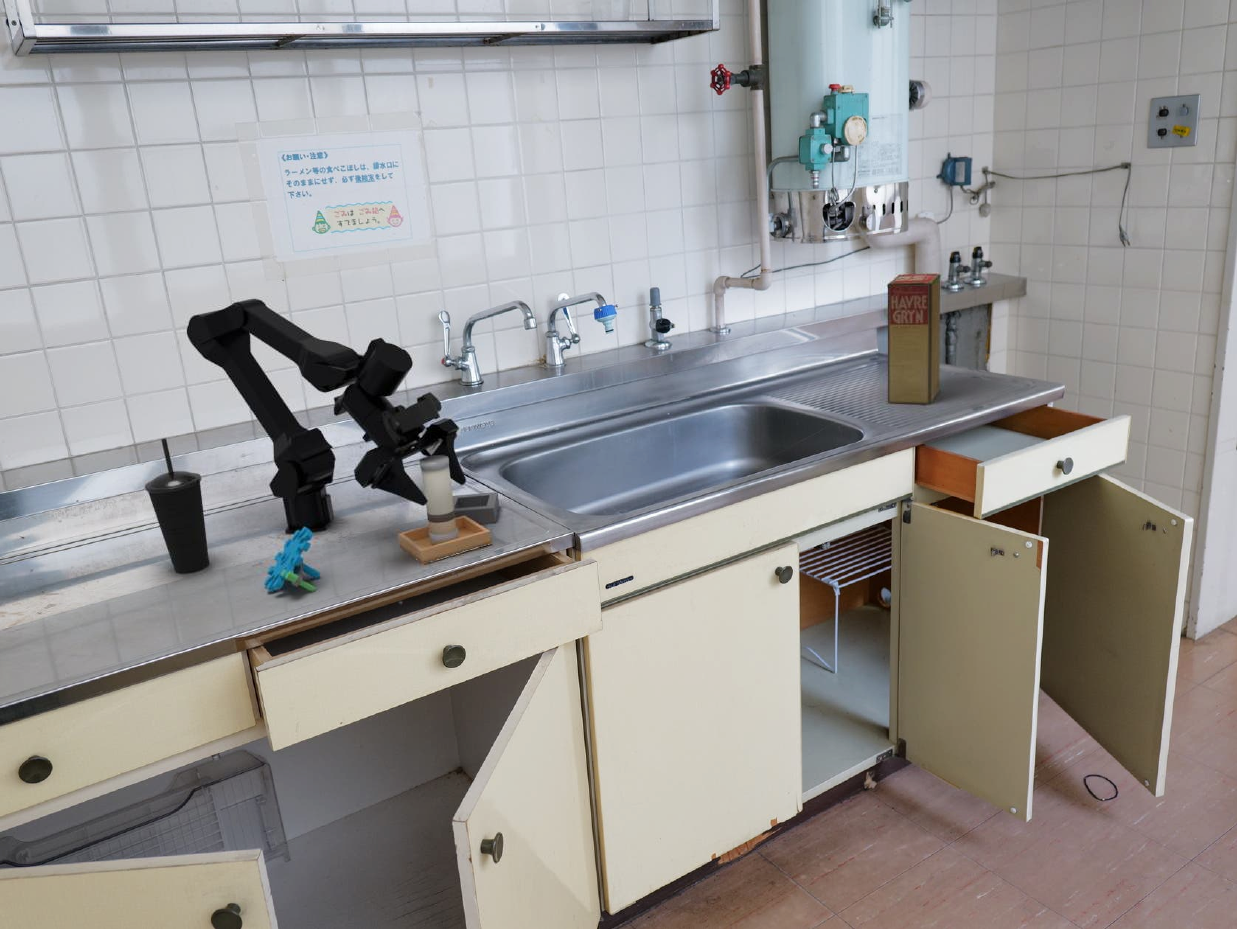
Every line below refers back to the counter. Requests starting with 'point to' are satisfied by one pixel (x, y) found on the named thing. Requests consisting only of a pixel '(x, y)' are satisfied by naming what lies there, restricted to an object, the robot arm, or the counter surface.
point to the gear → (292, 563)
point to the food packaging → (913, 338)
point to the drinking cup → (180, 516)
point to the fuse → (439, 499)
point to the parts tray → (422, 550)
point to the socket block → (477, 507)
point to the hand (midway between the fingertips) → (445, 493)
